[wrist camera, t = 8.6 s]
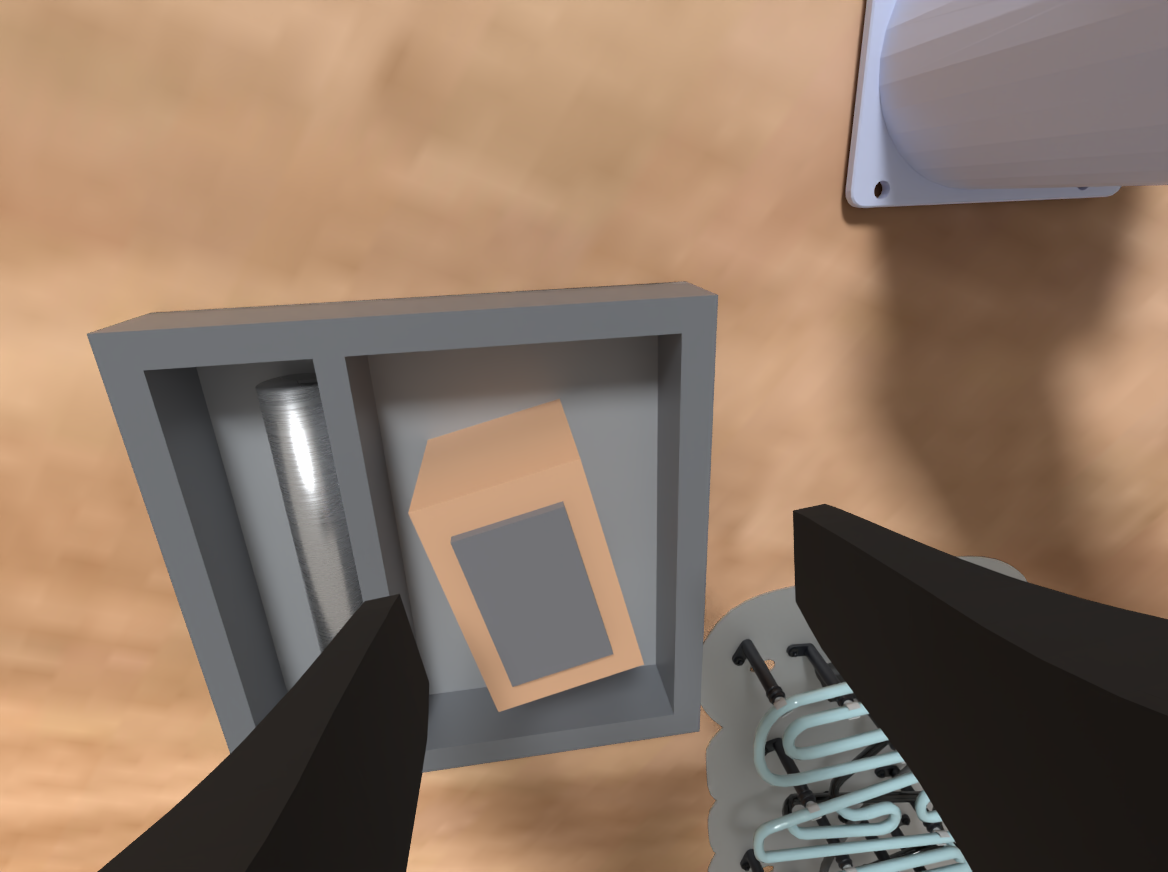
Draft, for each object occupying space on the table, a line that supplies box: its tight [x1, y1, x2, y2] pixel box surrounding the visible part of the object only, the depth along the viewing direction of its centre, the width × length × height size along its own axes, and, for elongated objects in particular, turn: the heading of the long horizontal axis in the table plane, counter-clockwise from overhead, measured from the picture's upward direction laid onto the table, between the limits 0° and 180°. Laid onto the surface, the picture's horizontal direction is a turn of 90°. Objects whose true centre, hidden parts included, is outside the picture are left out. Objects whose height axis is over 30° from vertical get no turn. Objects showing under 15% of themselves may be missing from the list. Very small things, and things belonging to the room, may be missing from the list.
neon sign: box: [701, 556, 1027, 872], centre depth 28 cm, size 21×4×29 cm
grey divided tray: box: [87, 282, 718, 773], centre depth 20 cm, size 16×16×3 cm
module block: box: [408, 399, 644, 712], centre depth 19 cm, size 4×7×5 cm, turn 15°
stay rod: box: [255, 373, 363, 653], centre depth 20 cm, size 12×2×2 cm
